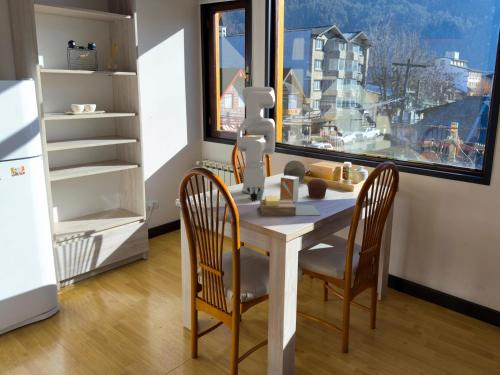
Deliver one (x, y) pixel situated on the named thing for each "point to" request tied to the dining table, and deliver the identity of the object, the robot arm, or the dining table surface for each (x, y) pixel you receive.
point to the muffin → (317, 188)
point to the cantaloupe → (295, 169)
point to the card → (271, 201)
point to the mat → (306, 210)
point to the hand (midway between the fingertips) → (253, 201)
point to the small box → (289, 188)
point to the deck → (278, 208)
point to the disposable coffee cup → (260, 193)
